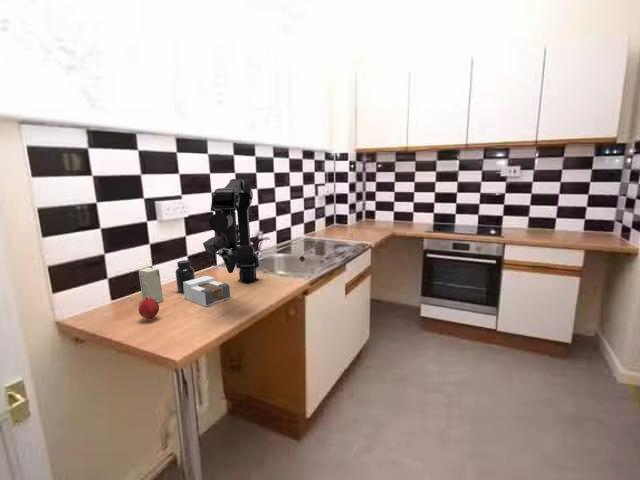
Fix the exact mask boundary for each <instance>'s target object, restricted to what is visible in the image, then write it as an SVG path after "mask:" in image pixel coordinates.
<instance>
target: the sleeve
mask: <svg viewBox="0 0 640 480" xmlns="http://www.w3.org/2000/svg"><path fill="white" fill-rule="evenodd" d="M206 283H207V284H210V285H213V286H216V287H219V288H222V294H223V299H221V300H218V301H215V302H213V294H212V291H211V289H208V288H207V289H205V288H202V287H199V285H202V284H206ZM183 287H184V293H183V295H184V297H183V298H184V299H187V300H189V301H191V302H193V303H196V304H199V305H201V306H204V307H209V306H213V305H216V304H218V303H220V302H223V301H226V300H229V299H231V290H230V289H231V287H230V284H229V283H226V282H224V283H222V282H219V281H216V280H215V277H213V276H210V275H209V276H208V275H204V276H201V277H200V276H199V277H197V278H196V277H195V279H193V280H189V281H185V282H183Z"/></svg>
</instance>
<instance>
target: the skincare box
mask: <svg viewBox="0 0 640 480" xmlns="http://www.w3.org/2000/svg"><path fill="white" fill-rule="evenodd" d="M160 274H161V273H160V269H159V268H154V267H150V266H149V267H145V268H142V269H138V277H139V283H140V285H139V286H140V290H141V298H142V301H143V300H144V299H145V298H146V297H147V296H149V297H150V298H152V299H154V300H155V301H156V302H157V303H158V304H159V303H161V302H164V297H163V296H164V295H163V290H162V289H163V288H162V281H161V275H160Z"/></svg>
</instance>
